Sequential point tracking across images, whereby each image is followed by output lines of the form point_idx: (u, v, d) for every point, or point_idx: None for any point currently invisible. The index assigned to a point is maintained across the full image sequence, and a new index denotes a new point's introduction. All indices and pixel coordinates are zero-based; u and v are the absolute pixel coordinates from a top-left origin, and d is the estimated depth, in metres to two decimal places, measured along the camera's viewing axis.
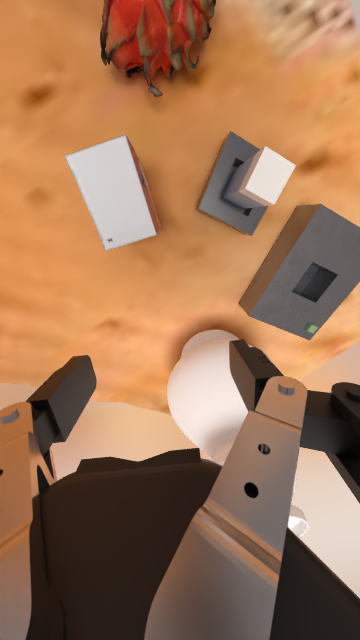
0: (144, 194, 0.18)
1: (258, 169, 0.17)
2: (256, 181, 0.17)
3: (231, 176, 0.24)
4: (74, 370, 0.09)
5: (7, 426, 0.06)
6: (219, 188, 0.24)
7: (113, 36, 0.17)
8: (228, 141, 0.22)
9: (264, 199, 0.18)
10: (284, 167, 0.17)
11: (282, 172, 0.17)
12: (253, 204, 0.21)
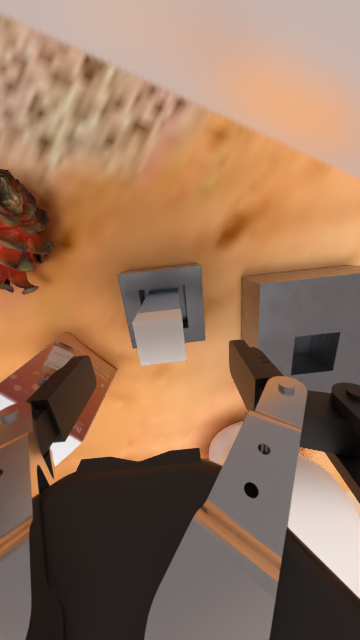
0: None
1: (141, 344, 0.13)
2: (148, 354, 0.13)
3: None
4: (74, 370, 0.09)
5: (7, 426, 0.06)
6: None
7: None
8: (121, 283, 0.19)
9: (171, 361, 0.14)
10: (169, 326, 0.13)
11: (171, 331, 0.13)
12: None
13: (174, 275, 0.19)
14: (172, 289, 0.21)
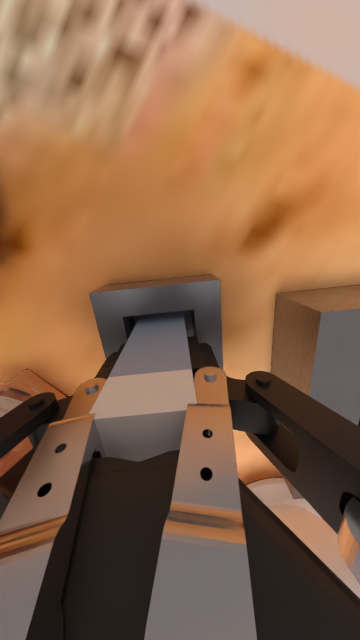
0: None
1: None
2: None
3: None
4: None
5: (95, 395, 0.07)
6: None
7: None
8: (96, 306, 0.12)
9: None
10: (170, 425, 0.06)
11: (173, 434, 0.06)
12: None
13: (179, 294, 0.12)
14: (175, 312, 0.14)
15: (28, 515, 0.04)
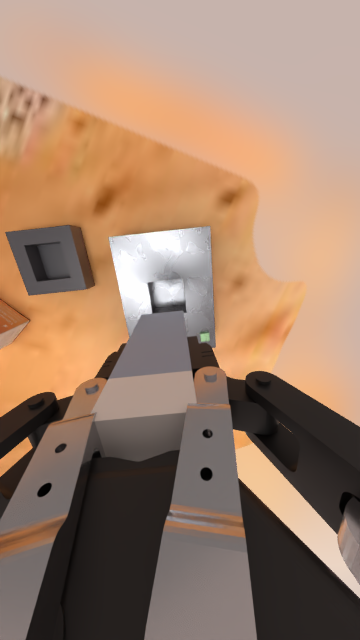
0: None
1: None
2: None
3: None
4: None
5: (95, 395, 0.07)
6: (30, 272, 0.26)
7: None
8: (9, 239, 0.24)
9: None
10: (170, 427, 0.06)
11: (173, 436, 0.06)
12: None
13: (50, 232, 0.24)
14: (175, 313, 0.14)
15: (28, 514, 0.04)
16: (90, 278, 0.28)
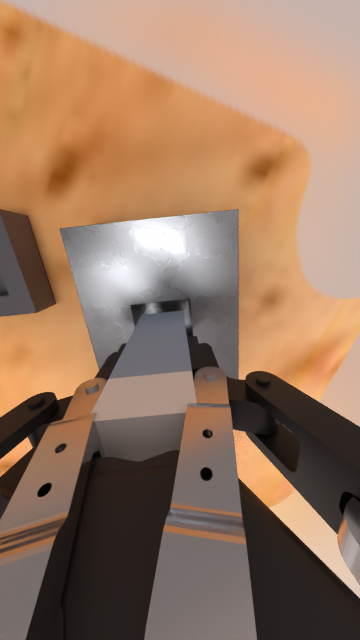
0: None
1: None
2: None
3: None
4: None
5: (95, 395, 0.07)
6: None
7: None
8: None
9: None
10: (170, 427, 0.06)
11: (174, 436, 0.06)
12: None
13: None
14: (175, 313, 0.15)
15: (28, 515, 0.04)
16: (47, 294, 0.19)
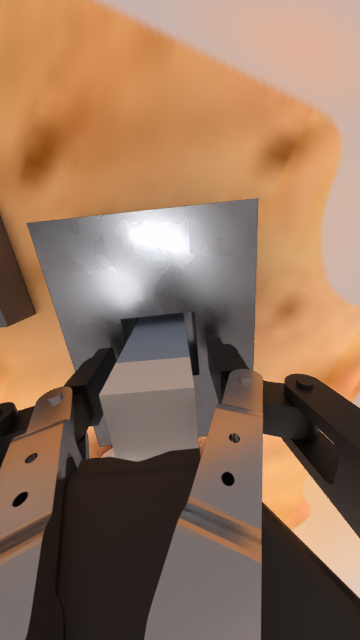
0: None
1: (117, 429, 0.07)
2: (130, 445, 0.07)
3: None
4: (103, 360, 0.10)
5: (55, 406, 0.07)
6: None
7: None
8: None
9: None
10: (170, 401, 0.07)
11: (173, 410, 0.07)
12: None
13: None
14: None
15: (6, 525, 0.03)
16: (23, 303, 0.16)
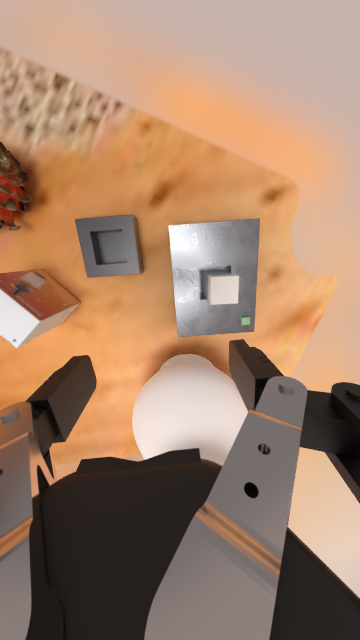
0: (17, 301, 0.23)
1: (213, 290, 0.23)
2: (216, 297, 0.23)
3: (201, 275, 0.31)
4: (74, 370, 0.09)
5: (7, 426, 0.06)
6: (92, 256, 0.29)
7: None
8: (77, 225, 0.27)
9: (228, 303, 0.23)
10: (231, 280, 0.22)
11: (231, 284, 0.22)
12: None
13: (114, 221, 0.27)
14: None
15: None
16: (141, 264, 0.31)
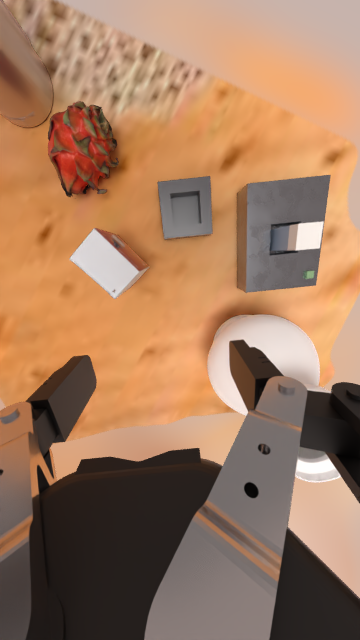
0: (120, 252, 0.26)
1: (299, 236, 0.25)
2: (301, 243, 0.25)
3: None
4: (74, 370, 0.09)
5: (7, 426, 0.06)
6: (170, 218, 0.31)
7: (67, 182, 0.28)
8: (159, 188, 0.30)
9: (311, 248, 0.26)
10: (316, 226, 0.25)
11: (316, 229, 0.25)
12: None
13: (193, 182, 0.30)
14: None
15: None
16: None
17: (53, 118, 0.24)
